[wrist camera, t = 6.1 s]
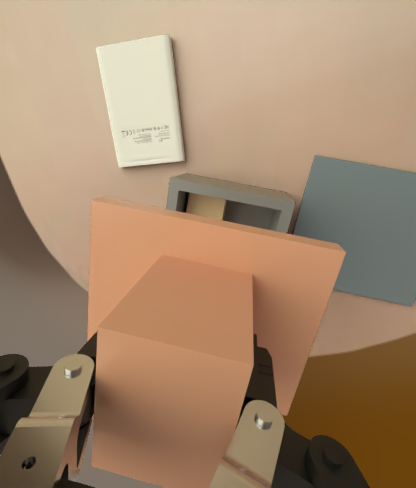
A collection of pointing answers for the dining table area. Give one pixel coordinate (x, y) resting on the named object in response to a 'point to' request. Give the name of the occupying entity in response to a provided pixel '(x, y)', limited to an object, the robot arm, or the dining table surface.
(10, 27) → the dining table surface
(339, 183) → the mat
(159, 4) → the dining table surface
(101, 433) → the lid
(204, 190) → the storage box
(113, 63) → the external hard drive
